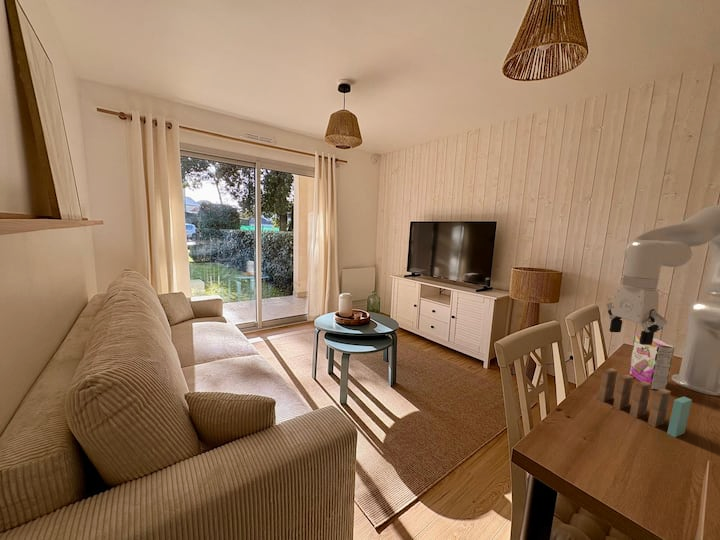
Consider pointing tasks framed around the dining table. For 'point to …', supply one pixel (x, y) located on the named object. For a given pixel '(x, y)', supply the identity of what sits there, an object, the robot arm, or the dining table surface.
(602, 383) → the domino
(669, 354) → the candy bar box
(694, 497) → the dining table surface
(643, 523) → the dining table surface
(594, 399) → the dining table surface
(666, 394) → the domino
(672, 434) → the teal domino
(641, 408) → the domino
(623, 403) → the domino
